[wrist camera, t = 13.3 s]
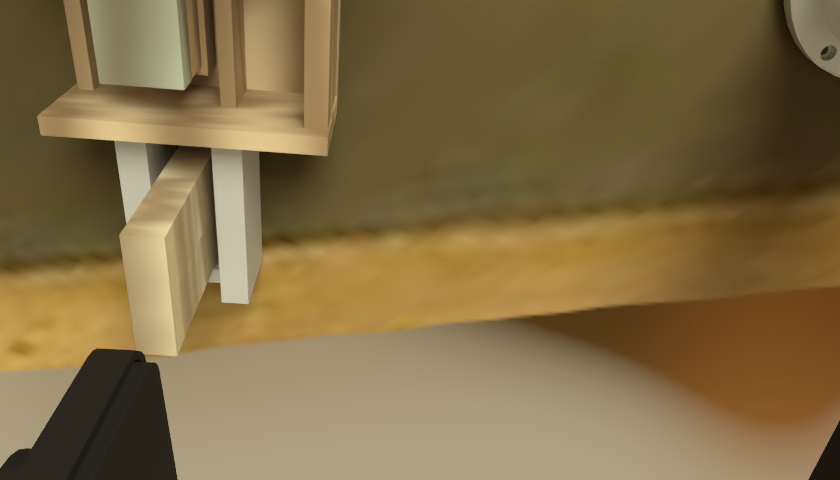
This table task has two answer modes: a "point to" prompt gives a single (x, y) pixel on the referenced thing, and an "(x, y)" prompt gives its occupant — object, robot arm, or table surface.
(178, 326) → the wooden board
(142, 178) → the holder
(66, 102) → the rack
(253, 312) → the table surface
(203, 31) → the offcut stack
